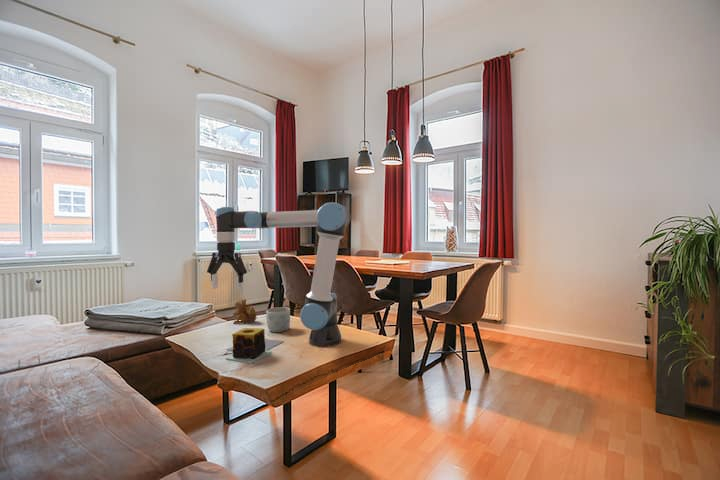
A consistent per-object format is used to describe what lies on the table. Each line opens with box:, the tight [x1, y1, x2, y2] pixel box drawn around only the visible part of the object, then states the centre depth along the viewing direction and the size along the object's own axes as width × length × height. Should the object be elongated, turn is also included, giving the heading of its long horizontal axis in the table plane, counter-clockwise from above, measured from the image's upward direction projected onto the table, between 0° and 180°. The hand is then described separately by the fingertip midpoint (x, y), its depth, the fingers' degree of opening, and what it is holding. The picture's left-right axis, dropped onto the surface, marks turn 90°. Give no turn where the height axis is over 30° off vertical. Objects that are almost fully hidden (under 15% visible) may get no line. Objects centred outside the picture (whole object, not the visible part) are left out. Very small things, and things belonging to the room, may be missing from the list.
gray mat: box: [226, 338, 285, 352], centre depth 164 cm, size 18×18×1 cm
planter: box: [265, 306, 291, 333], centre depth 189 cm, size 12×12×11 cm
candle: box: [231, 327, 266, 359], centre depth 150 cm, size 10×10×10 cm
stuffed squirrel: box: [232, 298, 258, 325], centre depth 208 cm, size 10×14×13 cm
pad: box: [226, 350, 272, 364], centre depth 150 cm, size 13×13×1 cm
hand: (227, 289), depth 159 cm, fingers open, 13 cm apart
